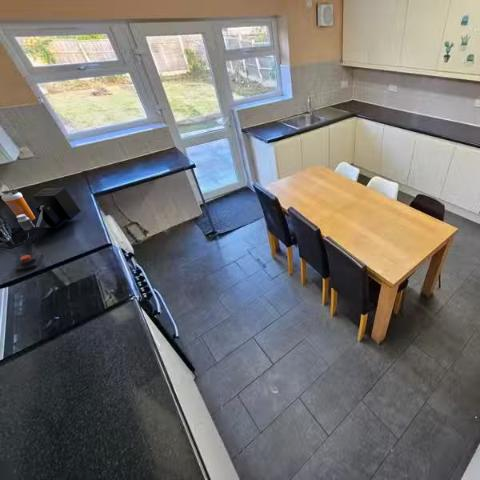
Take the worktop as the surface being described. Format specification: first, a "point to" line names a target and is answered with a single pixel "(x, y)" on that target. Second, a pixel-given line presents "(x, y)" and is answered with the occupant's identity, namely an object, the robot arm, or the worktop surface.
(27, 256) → the timer button
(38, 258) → the timer block
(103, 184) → the worktop surface
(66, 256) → the worktop surface
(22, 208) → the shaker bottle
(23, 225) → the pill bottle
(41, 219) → the toaster lever
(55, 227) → the lever bracket
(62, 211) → the toaster
